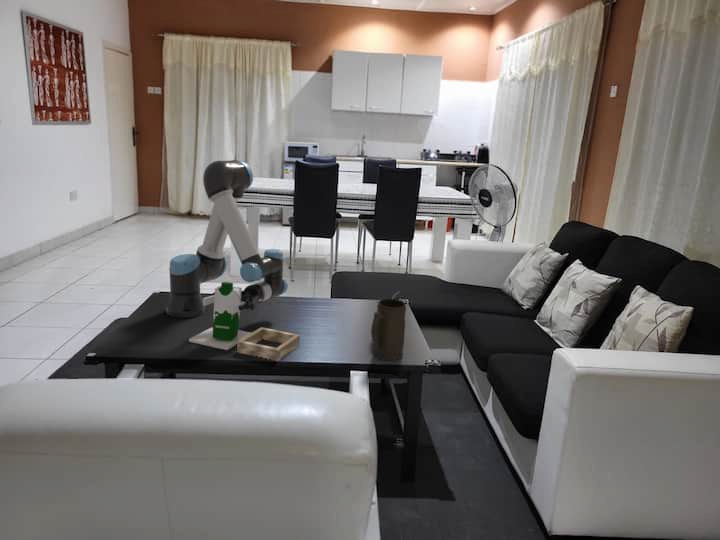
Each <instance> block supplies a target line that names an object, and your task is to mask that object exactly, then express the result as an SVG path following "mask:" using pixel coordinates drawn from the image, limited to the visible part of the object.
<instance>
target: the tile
mask: <svg viewBox="0 0 720 540" xmlns="http://www.w3.org/2000/svg"><path fill="white" fill-rule="evenodd" d="M251 333H252V332H249V331H245V330H240V329H238V335H237V336H236V337H235V338H233V339H232V340H229V339H220V338H213V326H212V327H210V328H208V329H205V330H204V331H202V332H200V333H198V334H196V335H194V336H192V337H190V338H189V339H188V342H189V343H194V344H199V345H203V346H206V347H211V348H215V349H221V350H225V351H228V350H230V349H232V348H233V347H235V346H237V345H236V344H237V341H239V340H241V339H242V338H244V337H246V336H247V335H249V334H251Z"/></svg>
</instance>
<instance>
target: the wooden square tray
mask: <svg viewBox="0 0 720 540" xmlns="http://www.w3.org/2000/svg"><path fill="white" fill-rule="evenodd" d="M250 333H251V334H249V335H247V336H246V337H244V338H242V339H241V340H239V341H237V345H236V353H239V354H243V355H248V356H251V355H252V357H256V356H258V357H257V358H260V357H263V358H262V359H265V358H267V359H266V360H269V359H271V360H270V361H273V362H274V361H275V362H279V361H281V360H283V358H285V357H286V356H287V355H288V353H289V354H290V353H291V352H292V350H293V351H294V350H296V349H297V347H299V346H300V342H301V341H300V340H301V335H300V334H298V333H291V332H286V331H282V330H279V329H278V330H277V329H272V328H267V327H262V326H261V327H259V328H258V329H256V330H254V331H251V332H250ZM263 339H264V340H265V341H269V342H274V343H279V344H280V345H278V347H274V346H268V345H265V344H258V343H259V342H261V341H262V340H263ZM264 340H263V341H264ZM257 342H258V343H257Z"/></svg>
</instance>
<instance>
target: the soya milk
mask: <svg viewBox="0 0 720 540" xmlns="http://www.w3.org/2000/svg"><path fill="white" fill-rule="evenodd" d="M242 289H243V288H242V287H238V286H234V283H233V282H229V281H228V282H227V281H226V282H225V281H223V282H221V286H218V287H215V288H214V292H215V299H214V303H213V315H212V316H213V318H212V327H213V338H220V339H229V340H232V339H233V338H235V337H236V336H237V335H238V330H239V327H240V314H241V311H239V312H236V313H233V314H231V313H230V306H233V305H237V304H239V303H241V302H242V301H241V291H242Z"/></svg>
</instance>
